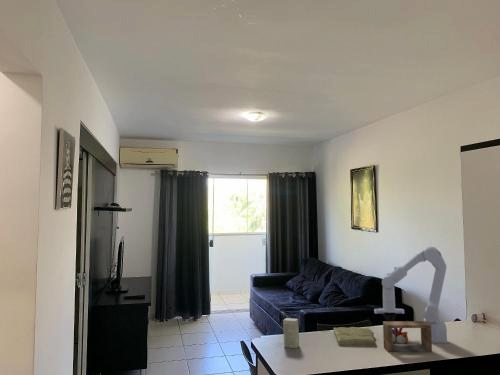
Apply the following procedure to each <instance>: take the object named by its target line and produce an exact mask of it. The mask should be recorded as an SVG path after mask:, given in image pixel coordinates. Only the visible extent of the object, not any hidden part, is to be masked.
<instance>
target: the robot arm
mask: <svg viewBox="0 0 500 375" xmlns="http://www.w3.org/2000/svg"><path fill="white" fill-rule="evenodd" d="M426 261H427V262H429V263H430V264H431V265H432V266H433V268H434V269H435V270H434V275H433V278H432V285H431V289H430V295H429V297H428V298H429V299H428V304H427V306H426V307H425V308H424V312H423V321H425V322H427V323H428V324H430V325H431V337H432V344H448V343H449V342H448V335H447V334H448V331H447V330H448V329H447V325H446V323H445V322H444V321H443V320H440V319H439V316H440V311H439V305H440V301H441V300H440V299H441V296H442V291H443V285H444V281H445V277H446V273H447V264H446V261H445V258H443V255H442V253H441V251H440V250H438V249H437V248H436V247H435V246H429V247H426V249H423V250H421V251H420V252H418V253H416V254H415V255H414V256H413V257H412V258H410V260H408V262H406V263H405V264H404V265H401V266H400V265H398V266H395V267H393V268H394V269H393V270H392V271H391V272H389V273H388V272H387V273H386V276H384V277H383V278H382V280H381V285H382V308H381V307H379V308H374V309H373V311H374V312H373V313H374V314H376V315H377V314H382V315H383V317H384V319H385V321H395V319H396V318H397V317H396V316H397V314H403V315H404V314H405V309H403V308H396V296H395V293H396V292H395V285H396V284H398V283H400V282H401V281H402V280H403V279H405V277H407V275H408V272H409V270H411V269H413V268H414V267H415V266H416V265H417V264H419V263H424V262H426Z"/></svg>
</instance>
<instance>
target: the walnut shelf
mask: <svg viewBox="0 0 500 375" xmlns="http://www.w3.org/2000/svg"><path fill="white" fill-rule="evenodd" d="M394 328H397V329H400V328H403V329H420V343H415V344H408V343H407V344H406V343H404V344H399V343H397V344H396V343H395V344H394V343H393V334H392V329H394ZM382 331H383V333H382V334H383V335H382V336H383V348H384V350H386V352H387V353H388V354H389V353H391V354H392V353H398V354H399V353H402V354H403V353H411V354H412V353H414V354H416V353H424V354H425V353H431V354H432V353H433V346H432V345H433V343H432V337H431V325H430V324H428V323H427V322H425V321H424V320H423V321H421V320H418V321H417V320H416V321H415V320H413V321H411V320H410V321H409V320H405V321H402V320H401V321H400V320H399V321H397V320H396V321H395V320H394V321H386V320H385V321H382Z"/></svg>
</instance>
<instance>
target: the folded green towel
mask: <svg viewBox="0 0 500 375" xmlns="http://www.w3.org/2000/svg"><path fill="white" fill-rule="evenodd" d="M333 333H334V337H335V339H336V342H337V345H338V346H342V347H344V346H345V347H346V346H347V347H348V346H349V347H376V346H377V342H376V341H375V338H374V335H375V332H374V331H373V330H372V329H370V328H368V327H357V326H356V327H355V326H350V327H345V326H342V327H341V326H340V327H333Z"/></svg>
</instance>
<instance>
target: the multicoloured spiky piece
mask: <svg viewBox="0 0 500 375" xmlns="http://www.w3.org/2000/svg"><path fill="white" fill-rule="evenodd" d="M403 329H404V328H392V334H393V344H394V343H395V342H397V344H406V342H408V341H409V337H408V332H407V331H403Z"/></svg>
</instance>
